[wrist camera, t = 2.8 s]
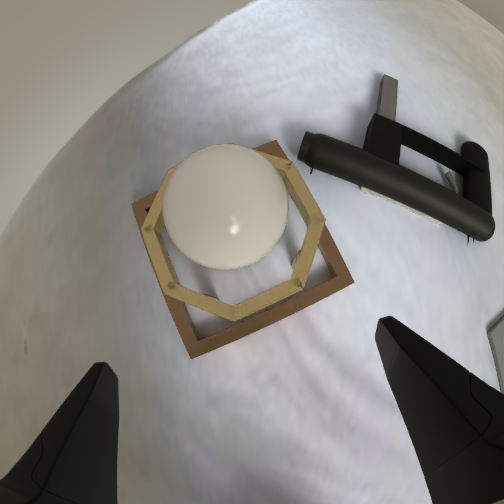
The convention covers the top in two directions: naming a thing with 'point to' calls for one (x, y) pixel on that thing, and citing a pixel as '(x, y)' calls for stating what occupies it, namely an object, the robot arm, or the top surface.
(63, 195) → the top surface
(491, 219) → the door handle
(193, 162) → the lightbulb
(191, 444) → the top surface
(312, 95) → the top surface
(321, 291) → the ring stand
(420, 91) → the top surface
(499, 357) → the mat
